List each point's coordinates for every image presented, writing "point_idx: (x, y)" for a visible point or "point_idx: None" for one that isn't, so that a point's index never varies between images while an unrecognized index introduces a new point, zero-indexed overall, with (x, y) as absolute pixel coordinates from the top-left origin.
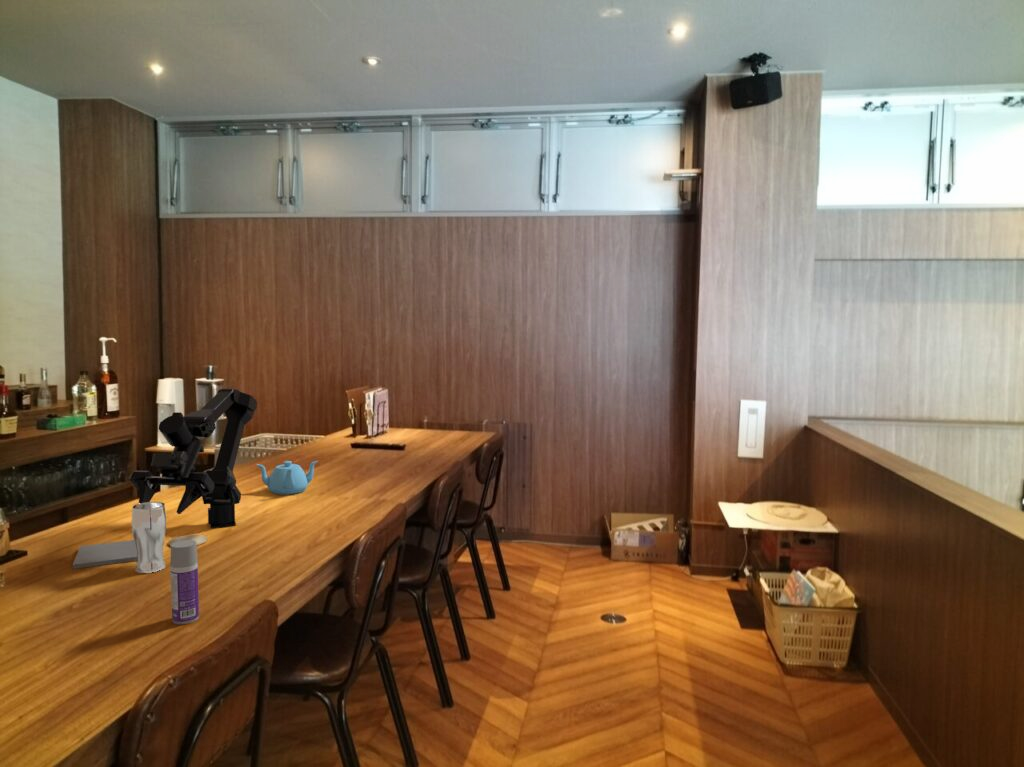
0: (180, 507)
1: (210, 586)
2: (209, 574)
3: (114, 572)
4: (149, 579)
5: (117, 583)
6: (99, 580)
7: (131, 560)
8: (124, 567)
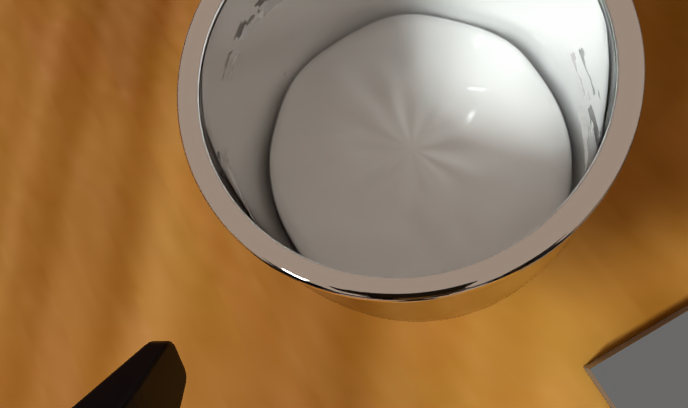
0: (105, 380)
1: (34, 77)
2: (91, 206)
3: None
4: None
5: None
6: None
7: (639, 335)
8: (604, 233)
